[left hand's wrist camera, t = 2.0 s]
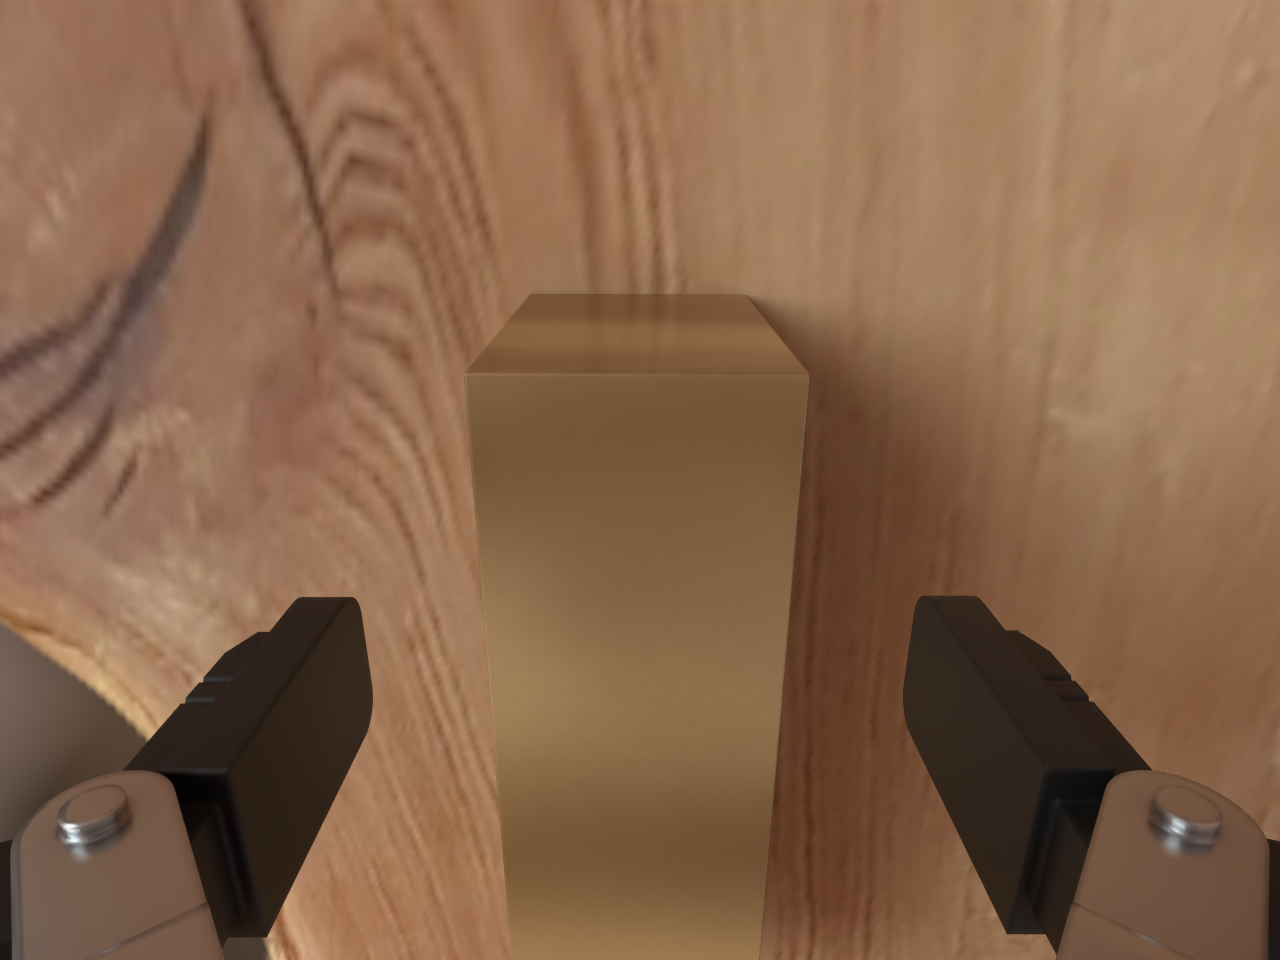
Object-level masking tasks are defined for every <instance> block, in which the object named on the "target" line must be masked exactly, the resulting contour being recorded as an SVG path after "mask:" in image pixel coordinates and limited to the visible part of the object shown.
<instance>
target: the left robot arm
mask: <svg viewBox="0 0 1280 960" xmlns="http://www.w3.org/2000/svg"><path fill="white" fill-rule="evenodd" d="M903 704H904V713H905V719H906V723H907V727H908V730H909V732H910V734H911V737H912V739H913V741H914V743H915V745H916V747H917V749H918V751H919V753H920V755H921V757H922V759H923V761H924V763H925V765H926V768H927V770H928V772H929V774H930V776H931V778H932V780H933V782H934V784H935V786H936V788H937V790H938V792H939V794H940V796H941V799H942V801H943V803H944V805H945V807H946V809H947V811H948V813H949V815H950V817H951V819H952V821H953V823H954V825H955V828H956V830H957V832H958V834H959V836H960V838H961V840H962V842H963V844H964V846H965V848H966V850H967V852H968V854H969V856H970V859H971V861H972V863H973V865H974V867H975V869H976V871H977V873H978V875H979V877H980V879H981V881H982V883H983V885H984V887H985V890H986V892H987V894H988V896H989V898H990V900H991V902H992V904H993V906H994V908H995V910H996V912H997V914H998V916H999V918H1000V921H1001V923H1002V925H1003V927H1004V929H1005V931H1006V933H1007V934H1046V936H1047V938H1048V940H1049V941H1050V943H1051V945H1052V947H1053V949H1054V951H1055V953H1056V955H1057V956H1056V960H1280V841H1275V840H1271V839H1267V838H1266V837H1265V835H1264V833H1263V832H1262V830H1261V829H1260V827H1259V826H1258V824H1257V823H1256V822H1255V821H1254V820H1253V819H1252V818H1251V817H1250V816H1249V815H1248V814H1247V813H1246V812H1245V811H1244V810H1242V809H1241V808H1240V807H1239V806H1238V805H1236V804H1235V803H1233V802H1232V801H1231V800H1229V799H1228V798H1226V797H1224V796H1223V795H1221V794H1219V793H1218V792H1216V791H1214V790H1212V789H1210V788H1208V787H1206V786H1204V785H1202V784H1200V783H1197V782H1195V781H1192V780H1190V779H1187V778H1184V777H1180V776H1177V775H1173V774H1169V773H1165V772H1158V771H1152V769H1151V768H1150V767H1149V766H1148V765H1147V764H1146V762H1145V761H1144V760H1143V759H1142V758H1141V757H1140V755H1139V754H1138V753H1137V752H1136V751H1135V750H1134V748H1133V747H1132V746H1131V745H1130V744H1129V743H1128V742H1127V740H1126V739H1125V738H1124V737H1123V736H1122V735H1121V733H1120V732H1119V731H1118V730H1117V729H1116V728H1115V726H1114V725H1113V724H1112V723H1111V722H1110V721H1109V719H1108V718H1107V717H1106V716H1105V715H1104V714H1103V712H1102V711H1101V710H1100V709H1099V708H1098V707H1097V705H1096V704H1095V703H1094V702H1089V696H1088V695H1087V694H1086V693H1085V692H1084V690H1083V689H1082V688H1081V687H1080V686H1079V685H1078V683H1077V682H1076V681H1072V680H1071V675H1070V674H1069V673H1068V672H1067V671H1066V669H1065V668H1064V667H1063V666H1062V665H1061V664H1060V663H1059V661H1058V660H1057V659H1056V658H1055V657H1054V656H1053V654H1052V653H1051V652H1050V651H1048V650H1047V649H1045V648H1044V647H1042V646H1041V645H1039V644H1037V643H1036V642H1034V641H1033V640H1031V639H1030V638H1028V637H1026V636H1025V635H1023V634H1022V633H1020V632H1019V631H1006V630H1005V629H1004V628H1003V627H1002V625H1001V624H1000V623H999V622H998V620H997V619H996V618H995V617H994V616H993V614H992V613H991V612H990V611H989V609H988V608H987V607H986V606H985V604H984V603H983V602H982V601H981V600H980V599H979V598H978V597H976V596H922V597H920V598H919V600H918V602H917V604H916V607H915V612H914V618H913V625H912V632H911V639H910V646H909V653H908V660H907V667H906V674H905V680H904V688H903ZM372 706H373V690H372V682H371V675H370V668H369V662H368V655H367V648H366V641H365V634H364V628H363V621H362V614H361V609H360V606H359V604H358V602H357V600H356V599H355V598H353V597H300V598H298V599H296V600H295V601H294V602H293V604H292V605H291V606H290V607H289V608H288V610H287V611H286V612H285V613H284V615H283V616H282V617H281V618H280V620H279V621H278V622H277V623H276V625H275V626H274V627H273V628H272V629H271V631H270V632H257V633H256V634H254V635H253V636H251V637H249V638H248V639H246V640H245V641H243V642H242V643H240V644H238V645H237V646H235V647H234V648H232V649H231V650H229V651H227V652H226V653H225V654H224V655H223V656H222V657H221V658H220V659H219V660H218V662H217V663H216V664H215V665H214V666H213V667H212V668H211V670H210V671H209V672H208V673H207V674H206V675H205V677H204V681H203V683H198V685H197V686H196V687H195V688H194V689H193V690H192V692H191V693H190V694H189V695H188V696H187V697H186V702H185V704H180V705H179V706H178V708H177V709H176V710H175V711H174V712H173V713H172V715H171V716H170V717H169V718H168V719H167V720H166V721H165V723H164V724H163V725H162V726H161V727H160V728H159V730H158V731H157V732H156V733H155V734H154V735H153V736H152V738H151V739H150V740H149V741H148V742H147V743H146V744H145V746H144V747H143V748H142V749H141V750H140V751H139V753H138V754H137V755H136V756H135V757H134V758H133V759H132V761H131V762H130V763H129V764H128V765H127V766H126V768H125V769H124V770H123V771H122V772H115V773H111V774H107V775H103V776H100V777H96V778H94V779H90V780H88V781H85V782H83V783H80V784H78V785H76V786H74V787H72V788H70V789H68V790H66V791H64V792H62V793H61V794H59V795H57V796H56V797H54V798H52V799H51V800H49V801H48V802H47V803H45V804H44V805H42V806H41V807H40V808H39V809H38V810H36V811H35V812H34V813H33V814H32V815H31V816H30V817H29V818H28V819H27V820H26V821H25V822H24V823H23V824H22V826H21V827H20V829H19V830H18V832H17V833H16V835H15V837H14V839H13V840H9V841H6V842H2V843H0V960H224V956H223V953H222V947H223V945H224V944H225V942H226V940H227V938H228V937H267V936H268V934H269V932H270V930H271V928H272V926H273V924H274V922H275V920H276V918H277V916H278V914H279V911H280V909H281V907H282V905H283V903H284V901H285V899H286V897H287V895H288V893H289V891H290V889H291V887H292V885H293V883H294V881H295V879H296V877H297V875H298V873H299V871H300V869H301V867H302V865H303V862H304V860H305V858H306V856H307V854H308V852H309V850H310V848H311V846H312V844H313V842H314V840H315V838H316V836H317V834H318V832H319V830H320V828H321V826H322V824H323V822H324V820H325V818H326V816H327V813H328V811H329V809H330V807H331V805H332V803H333V801H334V799H335V797H336V795H337V793H338V791H339V789H340V787H341V785H342V783H343V781H344V779H345V777H346V775H347V773H348V771H349V769H350V766H351V764H352V762H353V760H354V758H355V756H356V754H357V752H358V750H359V748H360V746H361V744H362V742H363V740H364V738H365V736H366V733H367V731H368V728H369V724H370V720H371V715H372Z"/></svg>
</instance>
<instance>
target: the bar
mask: <svg viewBox="0 0 1280 960" xmlns="http://www.w3.org/2000/svg"><path fill="white" fill-rule="evenodd" d="M464 382H465V394H466V406H467V419H468V431H469V443H470V456H471V468H472V480H473V493H474V505H475V517H476V529H477V542H478V554H479V566H480V579H481V591H482V603H483V615H484V628H485V640H486V652H487V665H488V677H489V689H490V701H491V714H492V726H493V738H494V751H495V763H496V775H497V788H498V800H499V812H500V824H501V837H502V849H503V861H504V874H505V886H506V898H507V910H508V923H509V935H510V947H511V960H760V952H761V940H762V929H763V917H764V906H765V894H766V883H767V871H768V860H769V848H770V837H771V825H772V813H773V802H774V790H775V779H776V767H777V756H778V744H779V733H780V721H781V709H782V698H783V686H784V675H785V663H786V652H787V640H788V629H789V617H790V605H791V594H792V582H793V571H794V559H795V548H796V536H797V525H798V513H799V501H800V490H801V478H802V467H803V455H804V444H805V432H806V421H807V409H808V397H809V386H810V374H809V373H808V372H807V370H806V369H805V368H804V367H803V365H802V364H801V363H800V362H799V361H798V359H797V358H796V357H795V356H794V354H793V353H792V352H791V351H790V349H789V348H788V347H787V346H786V344H785V343H784V342H783V341H782V339H781V338H780V337H779V336H778V335H777V333H776V332H775V331H774V330H773V328H772V327H771V326H770V325H769V323H768V322H767V321H766V320H765V318H764V317H763V316H762V315H761V313H760V312H759V311H758V310H757V309H756V307H755V306H754V305H753V304H752V302H751V301H750V300H749V299H748V297H747V296H746V295H621V294H531V295H529V297H528V298H527V299H526V300H525V301H524V303H523V304H522V305H521V306H520V307H519V309H518V310H517V311H516V312H515V313H514V315H513V316H512V317H511V318H510V319H509V321H508V322H507V323H506V324H505V325H504V327H503V328H502V329H501V330H500V331H499V333H498V334H497V335H496V336H495V337H494V339H493V340H492V341H491V342H490V343H489V345H488V346H487V347H486V348H485V349H484V350H483V352H482V353H481V354H480V355H479V356H478V358H477V359H476V360H475V361H474V362H473V364H472V365H471V366H470V367H469V368H468V370H467V371H466V372H465V374H464Z"/></svg>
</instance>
